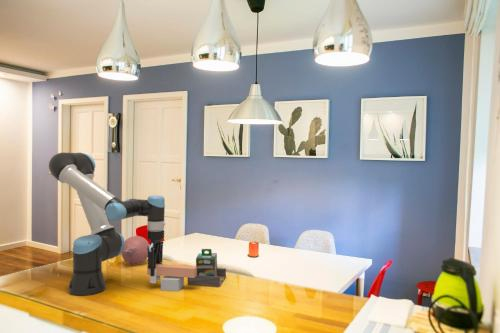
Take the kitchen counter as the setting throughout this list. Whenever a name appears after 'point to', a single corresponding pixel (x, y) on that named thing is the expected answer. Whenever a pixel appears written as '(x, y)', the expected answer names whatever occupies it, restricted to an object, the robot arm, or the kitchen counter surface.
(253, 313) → the kitchen counter surface
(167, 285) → the white and tan block
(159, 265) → the bar
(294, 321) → the kitchen counter surface
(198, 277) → the cradle
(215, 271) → the chalk box
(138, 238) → the balloon
